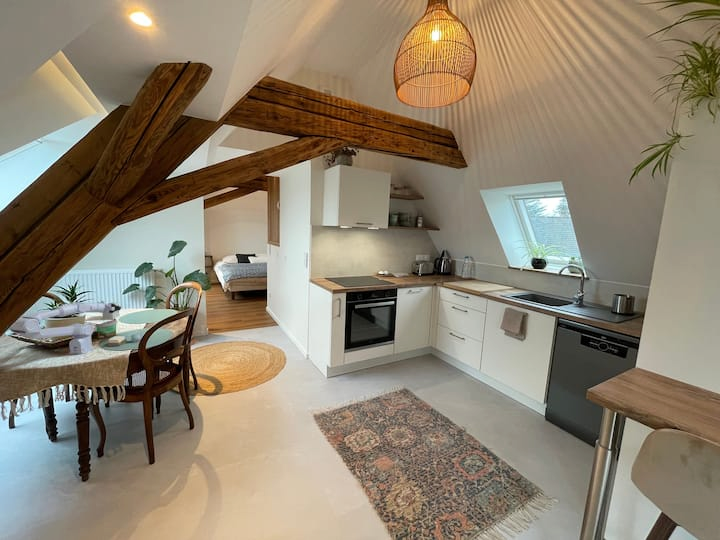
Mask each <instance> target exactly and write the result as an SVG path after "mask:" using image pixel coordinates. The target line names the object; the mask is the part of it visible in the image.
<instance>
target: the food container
mask: <svg viewBox="0 0 720 540" xmlns="http://www.w3.org/2000/svg"><path fill="white" fill-rule="evenodd" d="M117 324H118V320H117V318H115V319H113V320H107V321H104V322H102V323H95V327H94V328H96V331H97V336H98V339H102V340H103V339H104V340H105V339H111V338H113V337H115V336H117Z"/></svg>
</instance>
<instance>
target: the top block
mask: <svg viewBox="0 0 720 540" xmlns="http://www.w3.org/2000/svg"><path fill="white" fill-rule="evenodd" d="M124 339H126V338H125V335H121V336H120V335H118V336H117V335H115V336H113V337H110V338H108V343H119V342H121V341H123V340H124Z"/></svg>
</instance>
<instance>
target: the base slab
mask: <svg viewBox="0 0 720 540" xmlns="http://www.w3.org/2000/svg"><path fill="white" fill-rule="evenodd" d="M126 343H127V338H125V339H124V340H123V341H121V342H119V343H109V342H107V347H121V346H122V344H123V345H124V344H126ZM120 345H121V346H120Z"/></svg>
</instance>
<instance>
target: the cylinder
mask: <svg viewBox="0 0 720 540" xmlns="http://www.w3.org/2000/svg"><path fill="white" fill-rule="evenodd" d="M130 339H131V343H132V342H133V343H132V344H134V343H140V342H141V334H140V333H136V334H131V338H130ZM139 341H140V342H139Z"/></svg>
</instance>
